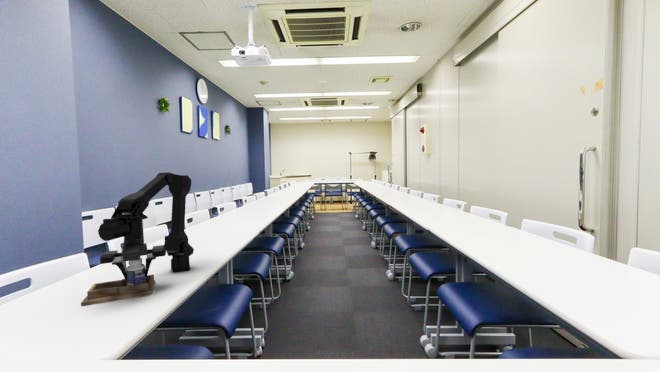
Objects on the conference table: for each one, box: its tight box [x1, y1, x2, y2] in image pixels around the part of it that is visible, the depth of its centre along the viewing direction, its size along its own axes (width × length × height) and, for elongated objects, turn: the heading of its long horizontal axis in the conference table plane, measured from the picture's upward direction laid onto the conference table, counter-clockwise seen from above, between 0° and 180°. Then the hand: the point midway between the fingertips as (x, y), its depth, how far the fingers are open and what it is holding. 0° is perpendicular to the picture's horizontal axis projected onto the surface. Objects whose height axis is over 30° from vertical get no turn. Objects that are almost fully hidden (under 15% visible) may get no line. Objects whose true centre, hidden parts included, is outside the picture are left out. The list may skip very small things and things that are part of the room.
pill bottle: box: [127, 257, 146, 286], centre depth 105 cm, size 5×5×10 cm
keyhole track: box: [80, 274, 156, 307], centre depth 104 cm, size 19×12×4 cm, turn 115°
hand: (136, 278), depth 105 cm, fingers closed on pill bottle, 5 cm apart
